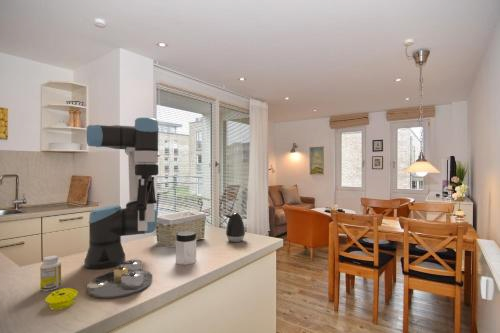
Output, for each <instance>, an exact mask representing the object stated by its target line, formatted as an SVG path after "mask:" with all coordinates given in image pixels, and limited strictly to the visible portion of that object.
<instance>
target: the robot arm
mask: <svg viewBox="0 0 500 333" xmlns="http://www.w3.org/2000/svg"><path fill="white" fill-rule="evenodd" d="M159 130H160V129H159V122H158V120H157V119H156V118H152V117H138V118H136V119H134V125H131V126H130V125H117V124H116V125H100V124H88V125H87V126H86V132H85V133H86V134H85V135H86V136H85V137H86V144H87V146H89V147H96V148H109V149H113V150H124V153H125V155H127V156H128V160H127V161H128V193H129V194H128V195H129V201H128V202H127V203H126V204H125V207H123V208H122V206H121V205H119V204H117V205H114V204H113V205H109V206H103V207H102V206H101V207H98V208H94V209H93V210H91V211H90V212H89V218H88V220H89V221H88V224H89V229H88V231H89V235H88V237H89V241H88V242H89V245H88V246H89V247H88V249H87V253H86V257H85V258H84V264H83V265H84V268H86V269H90V270H102V269H108V268H112V267H116V266H117V267H118V266H120V265H122V263H123V262H125V261H126V253H125V250H124V248H123V246H122V237H123V236H124V237H125V236H135V235H145V234H149V233H153V232H155V231H156V229H155V228H156V223H157V215H159V213H158V206H156V204H157V203H158V201H157V200H158V199H156V190H155V176H157V175H159V165H158V164H157V163H159V157H161V154H160V153H159Z"/></svg>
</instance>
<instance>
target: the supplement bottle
mask: <svg viewBox="0 0 500 333" xmlns="http://www.w3.org/2000/svg"><path fill="white" fill-rule="evenodd" d="M39 268H40V269H39V270H40V276H39V277H40V290H41V291H42V290H43V292H49V291H48V290H51V291H54V290H58V289H59V288H61V285H62V262H61V260H59V256H58V255H50V256H49V255H48V256H45V257H44V258H43V259H42V264H41V265H40V267H39ZM53 289H54V290H53Z"/></svg>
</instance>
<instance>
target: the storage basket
mask: <svg viewBox="0 0 500 333" xmlns="http://www.w3.org/2000/svg"><path fill="white" fill-rule="evenodd" d="M206 217H207V214H206V212H205V211H204V212H202V211H197V210H191V209H187V210H182V211H175V212H170V213H165V214H164V213H163V214H158V215H157V223H156V228H155V236H156V243H157V244H160V245H162V246H165V247H168V248H176V234H177V233H178V232H182V231H194V232H196V242H197V241H199V240H203V239H205V233H206V232H205V229H206V220H207V218H206Z"/></svg>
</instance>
